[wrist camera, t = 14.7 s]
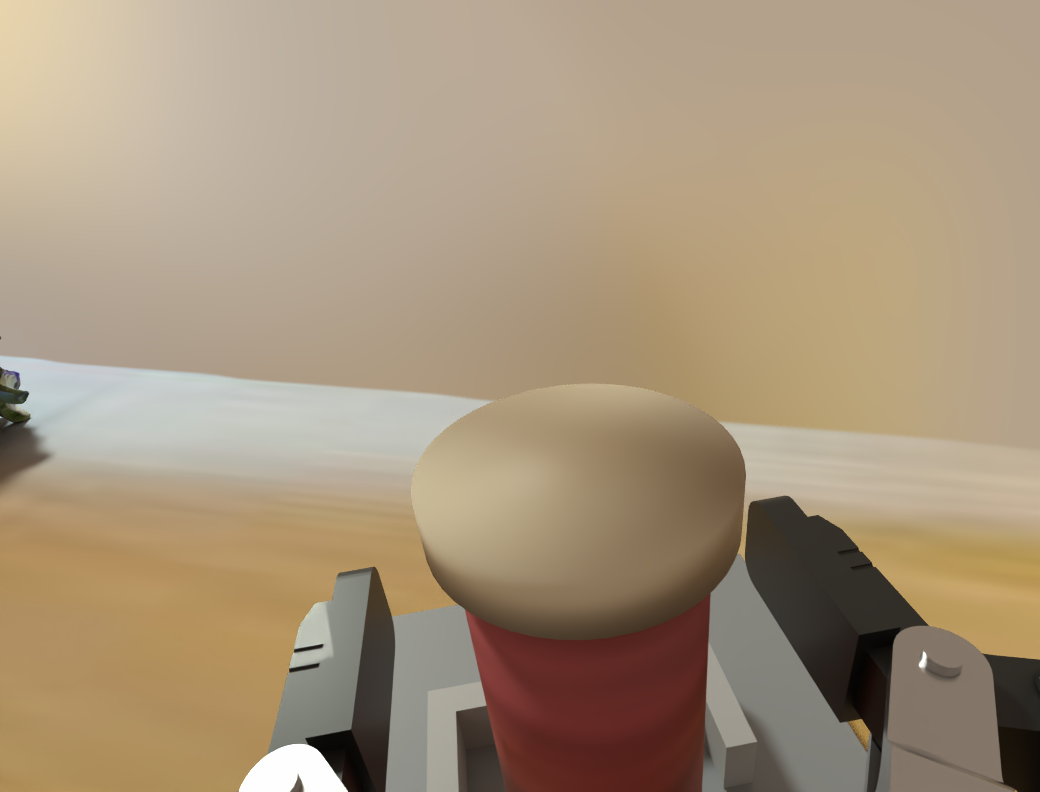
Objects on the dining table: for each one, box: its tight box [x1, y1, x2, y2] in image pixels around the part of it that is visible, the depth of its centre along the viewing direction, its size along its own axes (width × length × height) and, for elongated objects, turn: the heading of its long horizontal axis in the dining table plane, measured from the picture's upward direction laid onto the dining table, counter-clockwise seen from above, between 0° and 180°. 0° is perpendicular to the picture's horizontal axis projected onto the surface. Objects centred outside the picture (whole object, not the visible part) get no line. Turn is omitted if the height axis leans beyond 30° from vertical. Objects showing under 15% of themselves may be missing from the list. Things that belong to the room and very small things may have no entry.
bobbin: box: [411, 384, 746, 792], centre depth 12 cm, size 5×5×12 cm
